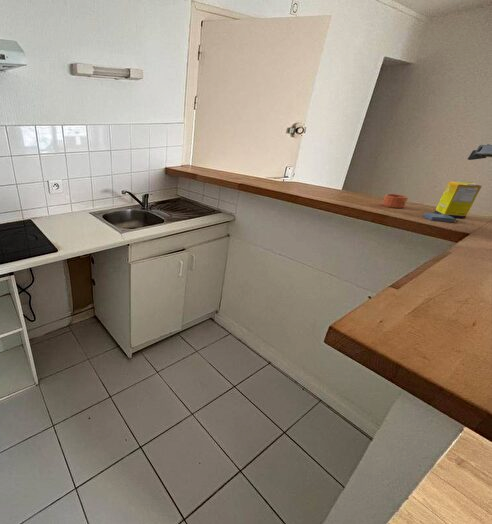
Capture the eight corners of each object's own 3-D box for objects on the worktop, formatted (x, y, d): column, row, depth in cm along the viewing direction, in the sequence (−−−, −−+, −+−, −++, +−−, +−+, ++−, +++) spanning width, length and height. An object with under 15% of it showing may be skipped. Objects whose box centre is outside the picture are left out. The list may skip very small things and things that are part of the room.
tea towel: (445, 218, 94) (447, 214, 93) (454, 222, 90) (456, 218, 89) (423, 216, 96) (424, 212, 95) (430, 220, 92) (432, 216, 91)
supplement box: (454, 213, 98) (471, 182, 94) (465, 218, 93) (483, 185, 89) (433, 212, 100) (448, 180, 96) (442, 216, 95) (459, 183, 90)
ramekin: (399, 205, 109) (403, 194, 107) (407, 209, 103) (411, 198, 102) (379, 203, 111) (382, 193, 109) (385, 207, 105) (389, 197, 104)
